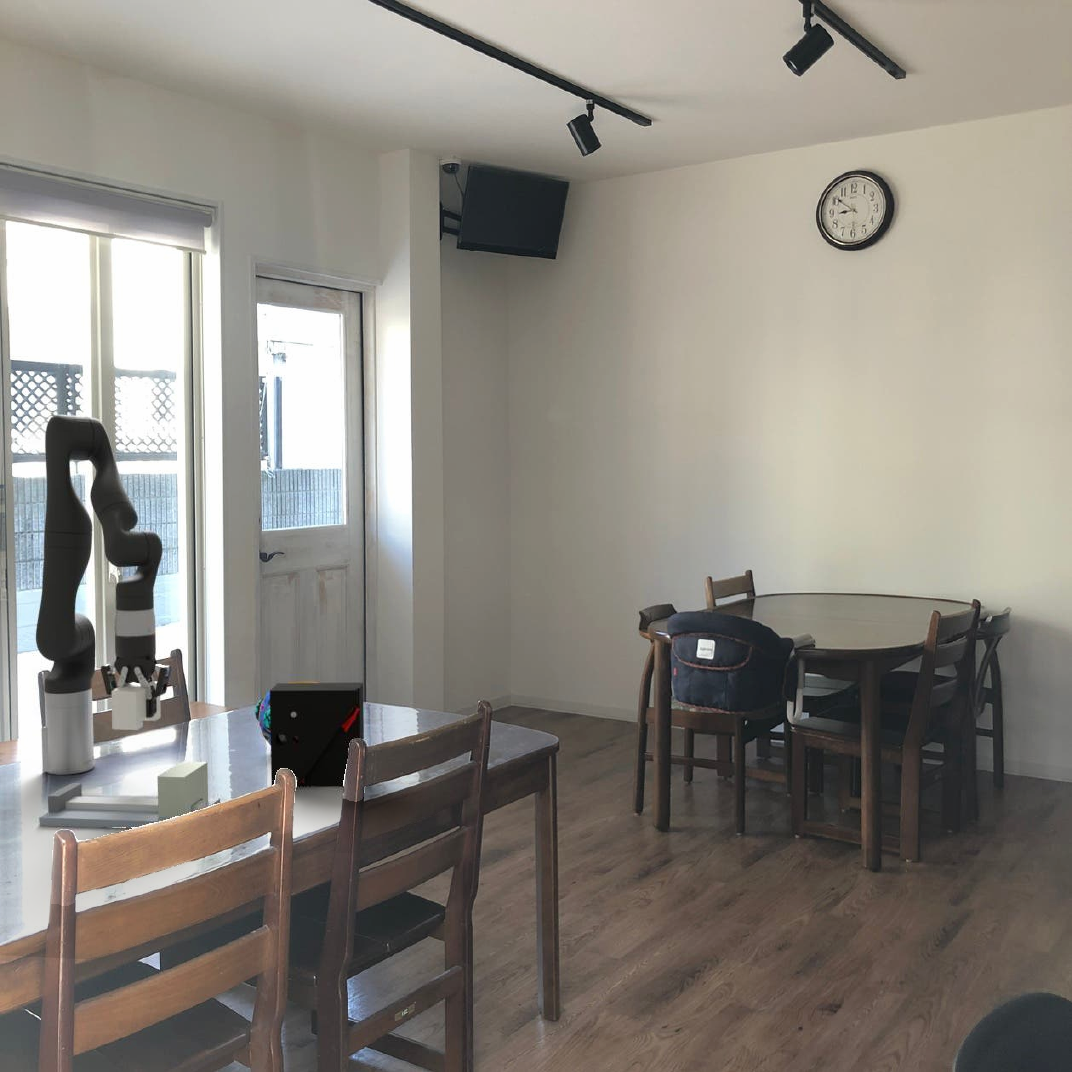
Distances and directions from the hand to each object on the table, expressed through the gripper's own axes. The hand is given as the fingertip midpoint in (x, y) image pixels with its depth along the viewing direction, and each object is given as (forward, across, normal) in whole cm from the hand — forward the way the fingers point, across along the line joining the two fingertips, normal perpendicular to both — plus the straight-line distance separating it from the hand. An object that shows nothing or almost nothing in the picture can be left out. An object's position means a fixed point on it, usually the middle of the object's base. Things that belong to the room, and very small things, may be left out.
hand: (136, 716), depth 212 cm
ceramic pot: (+15, -22, -32) cm, 42 cm away
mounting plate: (+15, -6, +15) cm, 22 cm away
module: (+1, 0, 0) cm, 1 cm away
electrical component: (+15, -34, -9) cm, 39 cm away
